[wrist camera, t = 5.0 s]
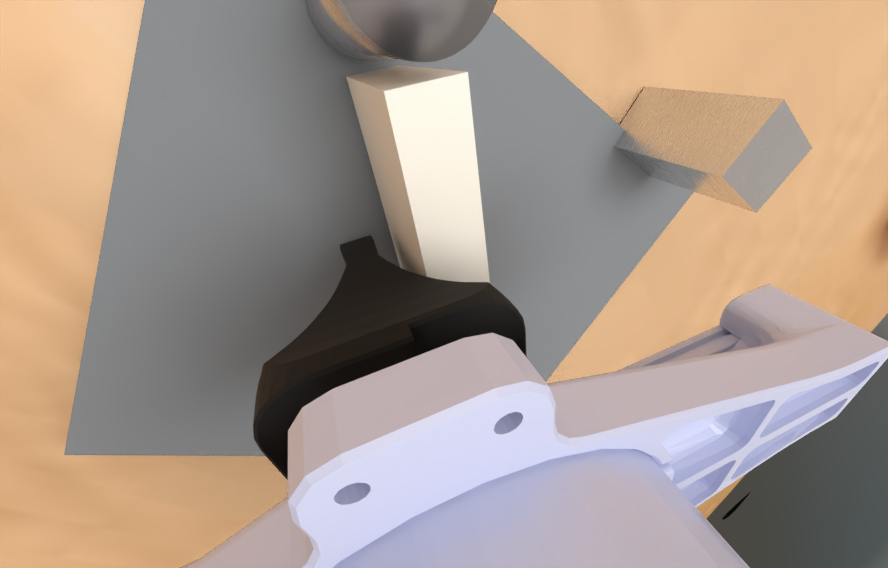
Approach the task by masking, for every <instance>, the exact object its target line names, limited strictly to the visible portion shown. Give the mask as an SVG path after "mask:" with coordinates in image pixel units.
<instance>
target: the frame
mask: <svg viewBox="0 0 888 568" xmlns="http://www.w3.org/2000/svg"><path fill="white" fill-rule="evenodd" d="M496 2H497V0H306V6H307V10H308V13H309V16H310V19H311V21H312V24H313V26H314V27H315V29H316V31H317V32H318V34H319V35H320V37H321V38H322V39H323V40H324V41H325V42H326V44H328V45H329V46H330V47H331V48H332V49H334V50H335V51H336V52H338V53H340V54H342V55H344V56H347V57H350V58H356V59H373V60H390V61H408V62H435V61H439V60H442V59H446V58H448V57H450V56H453V55H455V54H456V53H458V52H459V51H461V50H463V49H464V48H465V47H466V46H467V45H469V44H470V43H471V42H472V41H473V40H474V39H475V37H476V36H477V35H478V34H479V33H480V31H481V30H482V29H483V27H484V26H485V24H486V23H487V21H488V19H489V17H490V15H491V14H492V11H493V9H494V7H495V4H496ZM620 126H621V127H622V128H623V129H624V131H623V133H622V135H621V136H620V138H619V139H618V141H617V142H616V144H615V145H614V147H615V148H616V149H618V150H619V151H620V152H621V153H623V154H624V155H625V156H626V157H627V158H629V159H630V160H631V161H632V162H633V163H635V164H636V165H637V166H638V167H640V168H641V169H642V170H643V171H644V172H646V173H647V174H648V175H649V176H650V177H653V178H656V179H659V180H662V181H665V182H667V183H670V184H673V185H676V186H679V187H682V188H685V189H688V190H691V191H694V192H697V193H700V194H703V195H706V196H709V197H712V198H715V199H718V200H721V201H723V202H726V203H729V204H732V205H735V206H738V207H741V208H744V209H747V210H750V211H753V212H756V213H757V211H758V210H759V209H760V208H761V207H762V206H763V204H764V203H765V202H766V201H767V200H768V199H769V197H770V196H771V195H772V194H773V193H774V192H775V191H776V189H777V188H778V187H779V186H780V185H781V184H782V182H783V181H784V180H785V179H786V178H787V177H788V175H789V174H790V173H791V172H792V171H793V170H794V168H795V167H796V166H797V165H798V164H799V163H800V162H801V160H802V159H803V158H804V157H805V156H806V155H807V153H808V152H809V151H810V150H811V149H812V147H811V145H810V143H809V142H808V140H807V138H806V136H805V135H804V133H803V131H802V130H801V128H800V126H799V124H798V123H797V121H796V119H795V118H794V116H793V114H792V112H791V111H790V109H789V107H788V106H787V104H786V102H785V100H784V99H775V98H764V97H753V96H742V95H731V94H720V93H709V92H698V91H687V90H675V89H664V88H653V87H644V88H643V90H642V91H641V93H640V94H639V96H638V98H637V99H636V101H635V102H634V104H633V105H632V107H631V108H630V110H629V111H628V113H627V114H626V116H625V117H624V119H623V120H622V122H621V123H620Z"/></svg>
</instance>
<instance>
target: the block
mask: <svg viewBox="0 0 888 568" xmlns="http://www.w3.org/2000/svg"><path fill="white" fill-rule="evenodd" d="M346 78H347V81H348V85H349V88H350V92H351V95H352V99H353V102H354V106H355V110H356V113H357V117H358V120H359V124H360V127H361V131H362V134H363V138H364V141H365V145H366V148H367V152H368V155H369V159H370V163H371V166H372V170H373V173H374V177H375V180H376V184H377V187H378V191H379V194H380V198H381V201H382V205H383V208H384V212H385V216H386V219H387V223H388V226H389V230H390V233H391V237H392V240H393V244H394V247H395V251H396V254H397V258H398V261H399V265H400V268H402V269H404V270H407V271H410V272H412V273H415V274H419V275H422V276H426V277H430V278H435V279H440V280H447V281H456V282H489V283H490V279H489V269H488V260H487V250H486V241H485V231H484V221H483V212H482V202H481V193H480V183H479V174H478V164H477V154H476V145H475V135H474V126H473V116H472V106H471V97H470V87H469V78H468V72H465V71H454V70H444V69H433V68H423V67H413V66H402V65H396V66H392V67H387V68H382V69H378V70H373V71H369V72H364V73H360V74H355V75H350V76H346Z"/></svg>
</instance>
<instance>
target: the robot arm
mask: <svg viewBox="0 0 888 568" xmlns="http://www.w3.org/2000/svg"><path fill="white" fill-rule="evenodd" d="M340 250H341V253H342V256H343V259H344V261H345V264H346V267H345V270H344V272H343V275H342V277H341V279H340V282H339V284H338V286H337V288H336V290H335V292H334V294H333V295H332V297H331V299H330V300H329V302H328V303H327V305H326V306H325V307H324V308H323V310H322V311H321V312H320V313H319V314H318V316H317V317H316V318H315V319H314V321H313V322H312V323H311V324H310V325H309V326H308V327H307V328H306V329H305V330H304V331H303V332H302V333H301V334H300V335H299V336H298V337H297V338H295V339H294V340H293V341H292V342H291V343H290V344H289V345H287V346H286V347H285V348H283V349H282V350H281V351H280V352H278V353H277V354H276V355H275V356H273V357H272V358H271V359H269V360H268V361H267V362H265V363H264V364H263V367H262V372H261V376H260V379H259V383H258V388H257V393H256V401H255V411H254V420H253V433H254V440H255V442H256V443H257V445H258V447H259V448H260V450H261V451H262V452H263V453H264V455H265V456H266V457H267V458H268V459H269V460H270V461H271V462H272V463H273V464H274V466H275V467H276V468H277V469H278V470H279V471H280V472H281V473H282V474H283V476H284V477H285V478H286V479H287V480H288V497H287V498H286V499H284V500H283V501H281V502H280V503H278V504H277V505H276V506H274V507H273V508H271V509H270V510H268V511H267V512H266V513H264V514H263V515H261V516H260V517H259V518H257V519H256V520H254V521H253V522H251V523H250V524H249V525H247V526H246V527H244V528H243V529H241V530H240V531H239V532H237V533H236V534H234V535H233V536H231V537H230V538H229V539H227V540H226V541H224V542H223V543H221V544H220V545H219V546H217V547H216V548H214V549H213V550H211V551H210V552H209V553H207V554H206V555H204V556H203V557H202V558H200V559H198V560H196V561H194V562H192V563H189V564H187V565H185V566H183V567H180V568H749V567H748V565H747V564H746V563H745V562H744V561H743V560H742V559H741V558H740V556H739V555H738V554H737V553H736V552H735V551H734V550H733V549H732V547H731V546H730V545H729V544H728V543H727V542H726V541H725V540H724V539H723V538H722V536H721V535H720V534H719V533H718V532H717V531H716V530H715V529H714V527H713V526H712V525H711V524H710V523H709V522H708V521H707V519H706V518H705V517H704V516H703V515H702V514H701V513H700V512H699V511H698V509H697V508H696V507H697V506H699V505H700V504H702V503H703V502H705V501H706V500H708V499H709V498H711V497H712V496H714V495H715V494H716V493H718V492H719V491H721V490H722V489H724V488H725V487H727V486H728V485H730V484H731V483H733V482H734V481H736V480H737V479H739V478H740V477H742V476H743V475H744V474H746V473H747V472H749V471H750V470H752V469H753V468H755V467H756V466H758V465H759V464H761V463H762V462H764V461H765V460H767V459H768V458H770V457H771V456H773V455H774V454H776V453H778V452H779V451H780V450H782V449H784V448H785V447H787V446H789V445H790V444H792V443H793V442H795V441H797V440H798V439H800V438H801V437H803V436H805V435H806V434H808V433H809V432H811V431H813V430H815V429H817V428H818V427H820V426H822V425H823V424H825V423H827V422H828V421H830V420H832V419H834V418H835V417H836V416H837V415H838V414H839V413H840V412H841V411H842V410H843V409H844V407H845V406H846V405H847V404H848V403H849V402H850V401H851V399H852V398H853V397H854V396H855V395H856V394H857V393H858V391H859V390H860V389H861V388H862V387H863V386H864V385H865V383H866V382H867V381H868V380H869V379H870V378H871V376H872V375H873V374H874V373H875V372H876V371H877V370H878V368H879V367H880V366H881V365H882V364H883V363H884V361H885V360H886V359H887V358H888V341H886V340H884V339H882V338H880V337H878V336H876V335H874V334H872V333H870V332H868V331H866V330H863V329H861V328H859V327H857V326H855V325H853V324H851V323H849V322H847V321H845V320H843V319H841V318H839V317H836V316H834V315H832V314H830V313H828V312H826V311H824V310H822V309H820V308H818V307H816V306H814V305H812V304H809V303H807V302H805V301H803V300H801V299H799V298H797V297H795V296H793V295H791V294H789V293H787V292H785V291H782V290H780V289H778V288H776V287H774V286H772V285H770V284H769V285H764V286H762V287H759V288H757V289H755V290H753V291H750V292H748V293H746V294H743V295H741V296H739V297H737V298H735V299H734V300H732V301H731V302H730V303H729V304H728V305H727V306H726V308H725V309H724V311H723V313H722V315H721V319H720V325H719V326H716V327H714V328H712V329H710V330H707V331H705V332H703V333H701V334H699V335H696V336H694V337H692V338H690V339H687V340H685V341H683V342H681V343H679V344H676V345H674V346H672V347H670V348H667V349H665V350H663V351H661V352H659V353H656V354H654V355H652V356H650V357H647V358H645V359H643V360H641V361H639V362H636V363H634V364H632V365H630V366H627V367H625V368H623V369H621V370H619V371H616V372H611V373H605V374H599V375H594V376H588V377H582V378H577V379H571V380H565V381H560V382H554V383H548V384H547V383H546V382H545V381H544V379H543V378H542V377H541V375H540V374H539V373H538V372H537V370H536V369H535V368H534V366H533V365H532V364H531V363H530V361H529V360H528V359H527V355H526V328H525V323H524V319H523V317H522V315H521V314H520V312H519V311H518V309H517V308H516V307H515V306H514V305H513V304H512V303H511V302H510V300H509V299H508V298H506V297H505V296H504V295H503V294H502V293H501V292H500V291H499V290H497V289H496V288H495V287H494V286H492V285H491V284H490V283H489V282H456V281H447V280H440V279H435V278H430V277H426V276H422V275H419V274H415V273H412V272H410V271H407V270H404V269H402V268H400V267H398V266H396V265H394V264H392V263H390V262H389V261H387V260H385V259H384V258H382V257H381V256H379V255H378V252H377V248H376V245H375V242H374V240H373V238H372V236H371V235H370V236H366V237H363V238H360V239H357V240H353V241H350V242H347V243H344V244H341V245H340Z"/></svg>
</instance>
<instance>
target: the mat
mask: <svg viewBox="0 0 888 568" xmlns="http://www.w3.org/2000/svg"><path fill="white" fill-rule="evenodd" d="M396 65H402V66H413V67H423V68H433V69H444V70H454V71H465V72H468V78H469V87H470V97H471V106H472V116H473V126H474V135H475V145H476V154H477V164H478V174H479V183H480V193H481V202H482V212H483V221H484V231H485V241H486V250H487V260H488V269H489V279H490V284H491V285H492V286H494V287H495V288H496V289H497V290H499V291H500V292H501V293H502V294H503V295H504V296H505V297H506V298H508V299H509V300H510V302H511V303H512V304H513V305H514V306H515V307H516V308H517V309H518V311H519V312H520V314H521V315H522V317H523V319H524V323H525V328H526V355H527V359H528V360H529V361H530V363H531V364H532V365H533V366H534V368H535V369H536V370H537V372H538V373H539V374H540V375H541V377H542V378H543V379H544V381H545V382H546V381H547V380H548V378H549V377H550V376H551V375H552V373H553V372H554V371H555V369H556V368H557V367H558V366H559V364H560V363H561V362H562V360H563V359H564V358H565V357H566V355H567V354H568V353H569V351H570V350H571V349H572V348H573V346H574V345H575V344H576V342H577V341H578V340H579V339H580V337H581V336H582V335H583V334H584V332H585V331H586V330H587V328H588V327H589V326H590V325H591V323H592V322H593V321H594V319H595V318H596V317H597V316H598V314H599V313H600V312H601V310H602V309H603V308H604V307H605V305H606V304H607V303H608V301H609V300H610V299H611V298H612V296H613V295H614V294H615V292H616V291H617V290H618V289H619V287H620V286H621V285H622V283H623V282H624V281H625V280H626V278H627V277H628V276H629V274H630V273H631V272H632V271H633V269H634V268H635V267H636V265H637V264H638V263H639V262H640V260H641V259H642V258H643V256H644V255H645V254H646V253H647V251H648V250H649V249H650V247H651V246H652V245H653V244H654V242H655V241H656V240H657V238H658V237H659V236H660V235H661V233H662V232H663V231H664V230H665V228H666V227H667V226H668V224H669V223H670V222H671V221H672V219H673V218H674V217H675V215H676V214H677V213H678V212H679V210H680V209H681V208H682V206H683V205H684V204H685V203H686V201H687V200H688V199H689V197H690V196H691V195H692V194H693V192H694V191H691V190H688V189H685V188H682V187H679V186H676V185H673V184H670V183H667V182H665V181H662V180H659V179H656V178H653V177H650V176H649V175H648V174H647V173H646V172H644V171H643V170H642V169H641V168H640V167H638V166H637V165H636V164H635V163H633V162H632V161H631V160H630V159H629V158H627V157H626V156H625V155H624V154H623V153H621V152H620V151H619V150H618V149H616V148H615V147H614V145H615V144H616V142H617V141H618V139H619V138H620V136H621V135H622V133H623V131H624V129H623V128H622V127H621V126H620V125H619V124H618V123H617V122H615V121H614V120H613V119H612V118H611V117H610V116H609V115H608V114H606V113H605V112H604V111H603V110H602V109H601V108H600V107H599V106H597V105H596V104H595V103H594V102H593V101H592V100H591V99H590V98H589V97H587V96H586V95H585V94H584V93H583V92H582V91H581V90H580V89H578V88H577V87H576V86H575V85H574V84H573V83H572V82H571V81H570V80H568V79H567V78H566V77H565V76H564V75H563V74H562V73H561V72H559V71H558V70H557V69H556V68H555V67H554V66H553V65H552V64H550V63H549V62H548V61H547V60H546V59H545V58H544V57H543V56H542V55H540V54H539V53H538V52H537V51H536V50H535V49H534V48H533V47H531V46H530V45H529V44H528V43H527V42H526V41H525V40H524V39H523V38H521V37H520V36H519V35H518V34H517V33H516V32H515V31H514V30H512V29H511V28H510V27H509V26H508V25H507V24H506V23H505V22H503V21H502V20H501V19H500V18H499V17H498V16H497V15H496V14H495V13H493V12H492V14H491V15H490V17H489V19H488V21H487V23H486V24H485V26H484V27H483V29H482V30H481V31H480V33H479V34H478V35H477V36H476V37H475V39H474V40H473V41H472V42H471V43H470V44H469V45H467V46H466V47H465V48H464V49H463V50H461V51H459V52H458V53H456V54H455V55H453V56H450V57H448V58H446V59H442V60H439V61H435V62H408V61H390V60H373V59H356V58H350V57H347V56H344V55H342V54H340V53H338V52H336V51H335V50H334V49H332V48H331V47H330V46H329V45H328V44H326V42H325V41H324V40H323V39H322V38H321V37H320V35H319V34H318V32H317V31H316V29H315V27H314V26H313V24H312V21H311V19H310V16H309V13H308V10H307V6H306V0H145V3H144V9H143V15H142V20H141V26H140V31H139V37H138V43H137V48H136V54H135V60H134V65H133V71H132V77H131V82H130V88H129V93H128V99H127V105H126V110H125V116H124V122H123V127H122V133H121V138H120V144H119V150H118V155H117V161H116V167H115V172H114V178H113V184H112V189H111V195H110V200H109V206H108V212H107V217H106V223H105V229H104V234H103V240H102V246H101V251H100V257H99V262H98V268H97V274H96V279H95V285H94V291H93V296H92V302H91V307H90V313H89V319H88V324H87V330H86V336H85V341H84V347H83V353H82V358H81V364H80V369H79V375H78V381H77V386H76V392H75V398H74V403H73V409H72V415H71V420H70V426H69V431H68V437H67V443H66V448H65V454H64V455H186V456H265V455H264V453H263V452H262V451H261V450H260V448H259V447H258V445H257V443H256V442H255V440H254V433H253V420H254V411H255V401H256V393H257V388H258V383H259V379H260V376H261V372H262V367H263V364H264V363H265V362H267V361H268V360H269V359H271V358H272V357H273V356H275V355H276V354H277V353H278V352H280V351H281V350H282V349H283V348H285V347H286V346H287V345H289V344H290V343H291V342H292V341H293V340H294V339H295V338H297V337H298V336H299V335H300V334H301V333H302V332H303V331H304V330H305V329H306V328H307V327H308V326H309V325H310V324H311V323H312V322H313V321H314V319H315V318H316V317H317V316H318V314H319V313H320V312H321V311H322V310H323V308H324V307H325V306H326V305H327V303H328V302H329V300H330V299H331V297H332V295H333V294H334V292H335V290H336V288H337V286H338V284H339V282H340V279H341V277H342V275H343V272H344V270H345V267H346V264H345V261H344V259H343V256H342V253H341V250H340V245H341V244H344V243H347V242H350V241H353V240H357V239H360V238H363V237H366V236H370V235H371V236H372V238H373V240H374V242H375V245H376V248H377V252H378V255H379V256H381V257H382V258H384V259H385V260H387V261H389V262H390V263H392V264H394V265H396V266H398V267H400V265H399V261H398V258H397V254H396V251H395V247H394V244H393V240H392V237H391V233H390V230H389V226H388V223H387V219H386V216H385V212H384V208H383V205H382V201H381V198H380V194H379V191H378V187H377V184H376V180H375V177H374V173H373V170H372V166H371V163H370V159H369V155H368V152H367V148H366V145H365V141H364V138H363V134H362V131H361V127H360V124H359V120H358V117H357V113H356V110H355V106H354V102H353V99H352V95H351V92H350V88H349V85H348V81H347V78H346V76H350V75H355V74H360V73H364V72H369V71H373V70H378V69H382V68H387V67H392V66H396Z"/></svg>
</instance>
